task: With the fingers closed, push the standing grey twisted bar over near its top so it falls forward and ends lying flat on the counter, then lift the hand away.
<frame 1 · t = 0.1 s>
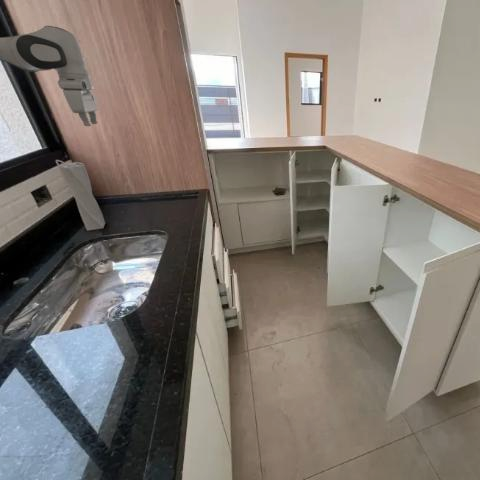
hand: (91, 124, 103), 39 cm above the counter, tool pointing down, fingers open, 8 cm apart
grey twisted bar: (96, 227, 111), on the counter
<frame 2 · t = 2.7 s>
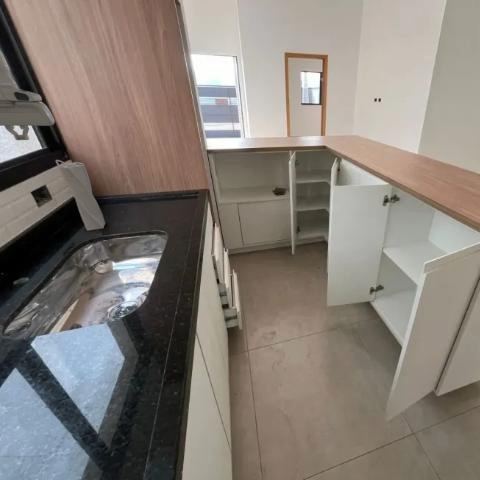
hand: (23, 139, 91), 35 cm above the counter, tool pointing down, fingers closed
nothing on the counter moved.
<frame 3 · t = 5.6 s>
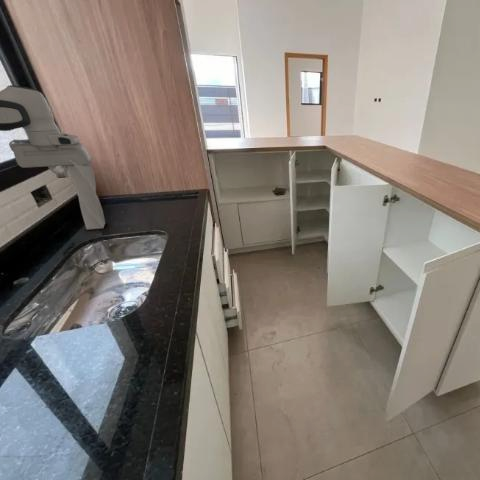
hand: (63, 177, 100), 21 cm above the counter, tool pointing down, fingers closed
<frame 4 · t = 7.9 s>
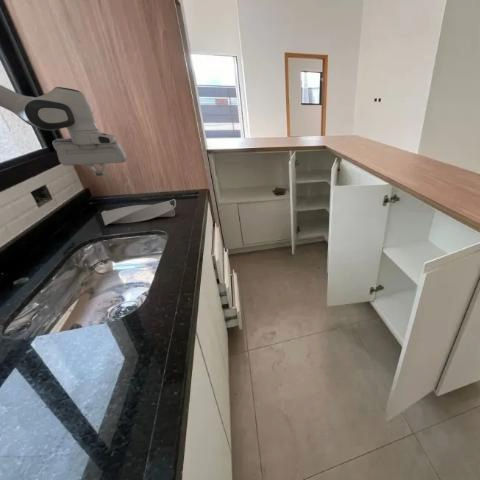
hand: (100, 175, 104), 21 cm above the counter, tool pointing down, fingers closed
grey twisted bar: (103, 217, 112), point 3 cm above the counter
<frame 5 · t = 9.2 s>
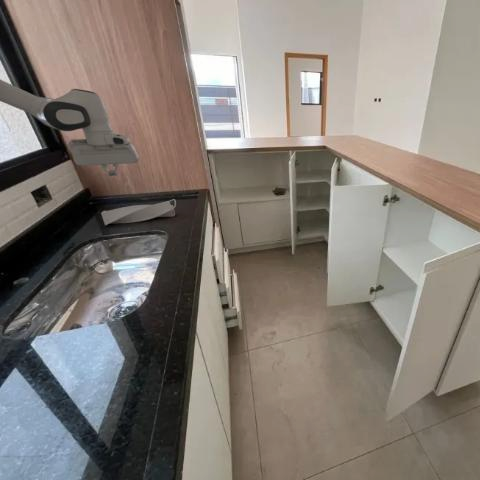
hand: (113, 175, 106), 21 cm above the counter, tool pointing down, fingers closed
nothing on the counter moved.
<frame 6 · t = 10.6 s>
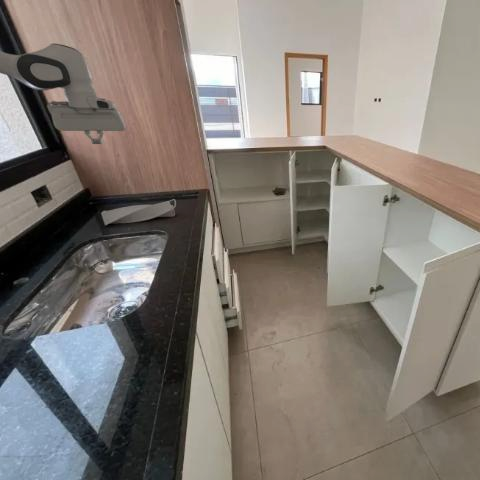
hand: (97, 143, 99), 33 cm above the counter, tool pointing down, fingers closed
nothing on the counter moved.
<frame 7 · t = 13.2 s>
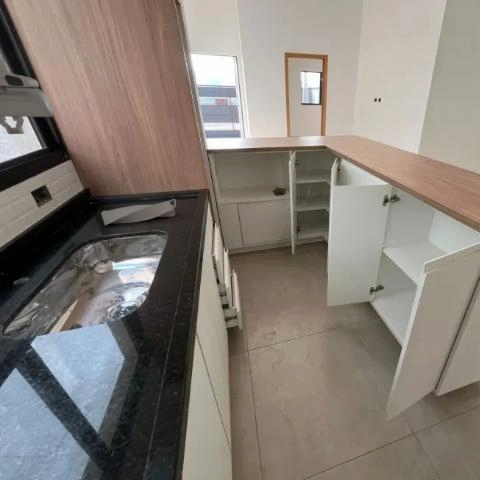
hand: (16, 133, 77), 39 cm above the counter, tool pointing down, fingers closed
nothing on the counter moved.
at the end: grey twisted bar tilted 89°; grey twisted bar inside the target area (12.5 cm from its centre), point 3.5 cm above the counter; the gripper is holding nothing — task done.
